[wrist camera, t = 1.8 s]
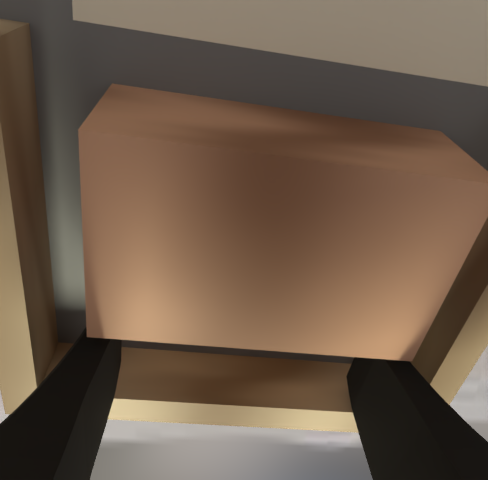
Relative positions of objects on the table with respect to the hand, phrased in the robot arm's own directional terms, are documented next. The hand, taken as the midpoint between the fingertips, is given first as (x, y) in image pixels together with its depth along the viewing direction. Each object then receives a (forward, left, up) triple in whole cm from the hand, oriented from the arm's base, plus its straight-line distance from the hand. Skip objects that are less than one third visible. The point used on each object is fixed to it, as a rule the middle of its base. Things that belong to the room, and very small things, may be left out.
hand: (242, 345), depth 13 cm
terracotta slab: (0, -4, -1) cm, 4 cm away
